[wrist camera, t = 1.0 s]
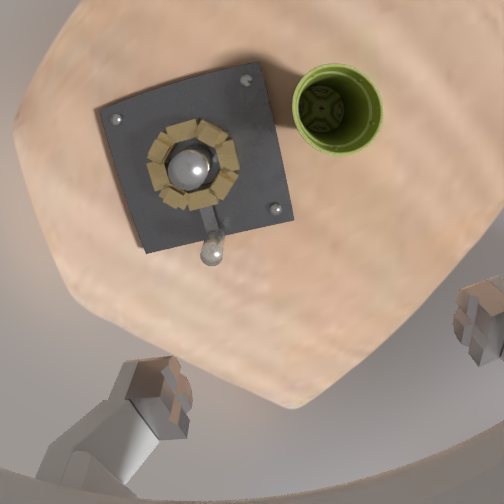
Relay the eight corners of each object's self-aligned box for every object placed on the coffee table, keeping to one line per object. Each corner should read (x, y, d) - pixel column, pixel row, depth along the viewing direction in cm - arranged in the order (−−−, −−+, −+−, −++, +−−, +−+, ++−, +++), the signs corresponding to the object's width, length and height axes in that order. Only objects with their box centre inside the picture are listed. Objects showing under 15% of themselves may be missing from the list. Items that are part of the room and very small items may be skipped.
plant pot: (281, 145, 38) (292, 155, 30) (281, 70, 34) (291, 60, 26) (354, 147, 38) (381, 158, 30) (356, 75, 34) (384, 69, 26)
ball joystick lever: (144, 134, 35) (127, 139, 29) (226, 110, 34) (223, 111, 28) (181, 251, 41) (172, 274, 36) (256, 234, 41) (259, 256, 35)
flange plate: (104, 109, 35) (77, 112, 28) (258, 63, 33) (262, 52, 26) (148, 249, 43) (133, 275, 36) (292, 216, 42) (302, 238, 35)
